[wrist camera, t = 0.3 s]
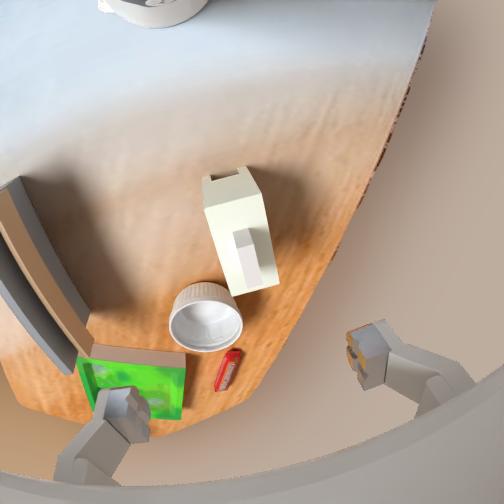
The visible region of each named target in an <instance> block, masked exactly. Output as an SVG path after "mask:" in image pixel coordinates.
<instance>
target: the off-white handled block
mask: <svg viewBox="0 0 504 504" xmlns="http://www.w3.org/2000/svg"><path fill="white" fill-rule="evenodd" d="M237 170H238V174H236V175H232V176H229V177H225V178H221V179H217V180H214V181H212V180H211V176H210V175H208V176H205V177H201V179H202V193H203V206H204V211H205V214H206V218H207V221H208V224H209V227H210V231H211V234H212V237H213V240H214V243H215V247H216V250H217V253H218V256H219V259H220V262H221V265H222V269H223V272H224V275H225V278H226V281H227V284H228V287H229V290H230V293H231V296H232V297H233V296H237V295H241V294H244V293H248V292H252V291H256V290H259V289H263V288H267V287H270V286H274V285H277V284H280V283H279V278H278V273H277V268H276V262H275V257H274V252H273V247H272V242H271V237H270V232H269V227H268V222H267V217H266V212H265V207H264V202H263V198H262V193H261V191H260V190H259V188H258V186H257V184H256V183H255V181H254V179H253V177H252V176H251V174H250V172H249V170H248V169H247V167H246V166H243V167H239V168H237Z"/></svg>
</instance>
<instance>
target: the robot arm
mask: <svg viewBox="0 0 504 504" xmlns="http://www.w3.org/2000/svg"><path fill="white" fill-rule="evenodd" d="M207 2H208V0H98V8H99V9H100V10H101V11H102V12H104V13H109V14H116V15H119V16H120V17H122V18H123V19H125V20H126V21H128V22H129V23H131V24H134V25H136V26H139V27H144V28H165V27H170V26H174V25H177V24H179V23H182V22H184V21H186V20H188V19H189V18H191V17H193V16H194V15H195V14H197V13H198V12H199V11H200V10H201V9H202V8H203V7H204V6H205V4H206V3H207ZM346 340H347V342H348V344H349V345H348V346H347V348H346V349H347V357H348V361H349V363H350V366H351V368H352V370H354V371H356V372H357V379H358V381H359V383H360V384H361V386H362V388H363V390H364V391H365V390H368V389H371V388H374V387H376V386H379V385H381V384H384V383H385V385H386V386H388V387H390V388H392V389H394V390H395V391H397V392H399V393H400V394H402V395H404V396H406V397H407V398H409V399H411V400H413V401H414V402H416V403H418V404H419V406H418V409H417V412H416V415H415V417H414V419H413V420H411V421H409V422H407V423H405V424H403V425H401V426H399V427H396V428H394V429H392V430H390V431H388V432H385V433H383V434H381V435H378V436H376V437H374V438H371V439H369V440H366V441H364V442H361V443H358V444H356V445H353V446H351V447H348V448H345V449H342V450H339V451H337V452H334V453H331V454H328V455H324V456H321V457H318V458H315V459H312V460H308V461H305V462H301V463H298V464H294V465H290V466H286V467H282V468H278V469H274V470H270V471H265V472H261V473H256V474H251V475H246V476H240V477H235V478H229V479H222V480H215V481H207V482H199V483H189V484H177V485H162V486H121V485H120V484H119V483H118V482H116V481H115V480H114V479H112V478H111V477H112V475H113V473H114V472H115V470H116V469H117V467H118V465H119V464H120V462H121V460H122V459H123V457H124V456H125V454H126V452H127V450H128V449H129V447H130V446H131V444H135V443H144V442H149V436H150V428H149V427H148V425H147V423H148V422H149V421H150V419H151V411H150V406H149V404H148V402H147V400H146V399H145V398H144V397H142V396H140V395H139V390H138V388H137V387H136V386H134V385H132V386H123V387H114V388H106V389H101V390H100V391H99V393H98V397H97V401H96V405H95V410H94V414H93V419H92V421H89V422H88V423H87V424H86V425H85V426H84V427H83V428H82V430H81V431H80V432H79V433H78V434H77V435H76V436H75V438H74V439H73V440H72V441H71V442H70V443H69V444H68V445H67V447H66V448H65V449H64V450H63V451H62V452H61V454H60V455H59V456H58V458H57V463H56V468H55V473H54V478H53V480H45V479H40V478H35V477H29V476H24V475H20V474H15V473H10V472H7V471H3V470H0V504H504V364H503V365H502V366H500V367H499V368H498V369H497V370H495V371H494V372H492V373H491V374H489V375H488V376H487V377H485V378H483V379H482V380H481V381H479V382H477V383H475V382H474V380H473V379H472V378H471V377H470V375H469V374H468V373H467V372H466V370H465V369H464V368H463V367H462V366H461V364H460V363H459V362H457V361H454V360H452V359H449V358H446V357H443V356H440V355H437V354H435V353H432V352H430V351H427V350H424V349H421V348H419V347H416V346H413V345H410V344H406V345H405V344H404V343H403V342H402V341H401V339H400V338H399V337H398V335H397V334H396V333H395V332H394V330H393V329H392V328H391V326H390V325H389V324H388V323H387V322H386V320H385V319H381V320H378V321H375V322H373V323H371V324H367V325H364V326H362V327H359V328H356V329H354V330H351V331H348V332H347V333H346Z"/></svg>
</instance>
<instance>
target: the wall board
mask: <svg viewBox="0 0 504 504" xmlns="http://www.w3.org/2000/svg"><path fill="white" fill-rule="evenodd" d="M0 295H1V296H2V298H3V299H4V301H5V302H6V303H7V305H8V306H9V308H10V309H11V311H12V312H13V313H14V315H15V316H16V317H17V319H18V320H19V321H20V323H21V324H22V325H23V327H24V328H25V329H26V331H27V332H28V333H29V334H30V336H31V337H32V338H33V339H34V341H35V342H36V343H37V344H38V345H39V347H40V348H41V349H42V350H43V351H44V353H45V354H46V355H47V356H48V357H49V358H50V359H51V361H52V362H53V363H54V364H55V365H56V366H57V367H58V368H59V369H60V370H61V372H62V373H63V374H64V375H68V374H73V372H74V368H75V364H76V360H77V356H78V352H80V353H81V355H82V356H83V357H84V358H85V359H88V358H90V355H91V350H92V346H93V342H94V338H93V337H92V335H91V334H90V333H89V331H88V330H87V329H86V324H87V321H88V318H89V314H90V309H89V308H88V306H87V305H86V303H85V302H84V300H83V298H82V297H81V295H80V294H79V292H78V290H77V289H76V287H75V285H74V284H73V282H72V280H71V279H70V277H69V275H68V274H67V272H66V270H65V268H64V267H63V265H62V263H61V261H60V260H59V258H58V256H57V254H56V252H55V250H54V249H53V247H52V245H51V243H50V241H49V239H48V237H47V235H46V233H45V231H44V229H43V227H42V225H41V223H40V221H39V219H38V217H37V215H36V213H35V210H34V208H33V206H32V204H31V202H30V199H29V197H28V195H27V192H26V190H25V188H24V185H23V183H22V180H21V178H20V176H19V177H17V178H15V179H13V180H11V181H10V182H8V183H6V184H4V185H3V186H1V187H0Z"/></svg>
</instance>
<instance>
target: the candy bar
mask: <svg viewBox="0 0 504 504" xmlns="http://www.w3.org/2000/svg"><path fill="white" fill-rule="evenodd" d="M240 359H241V356H240V350H239V351H228V353H226V354H225V356H224V359H223V361H222V364H221V367H220V370H219V373H218V375H217V378H216V381H215V384H214V387H215V392H218V391H225V390H228V388H229V386H230V384H231V381H232V379H233V377H234V374H235V372H236V370H237V367H238V365H239V362H240Z"/></svg>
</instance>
